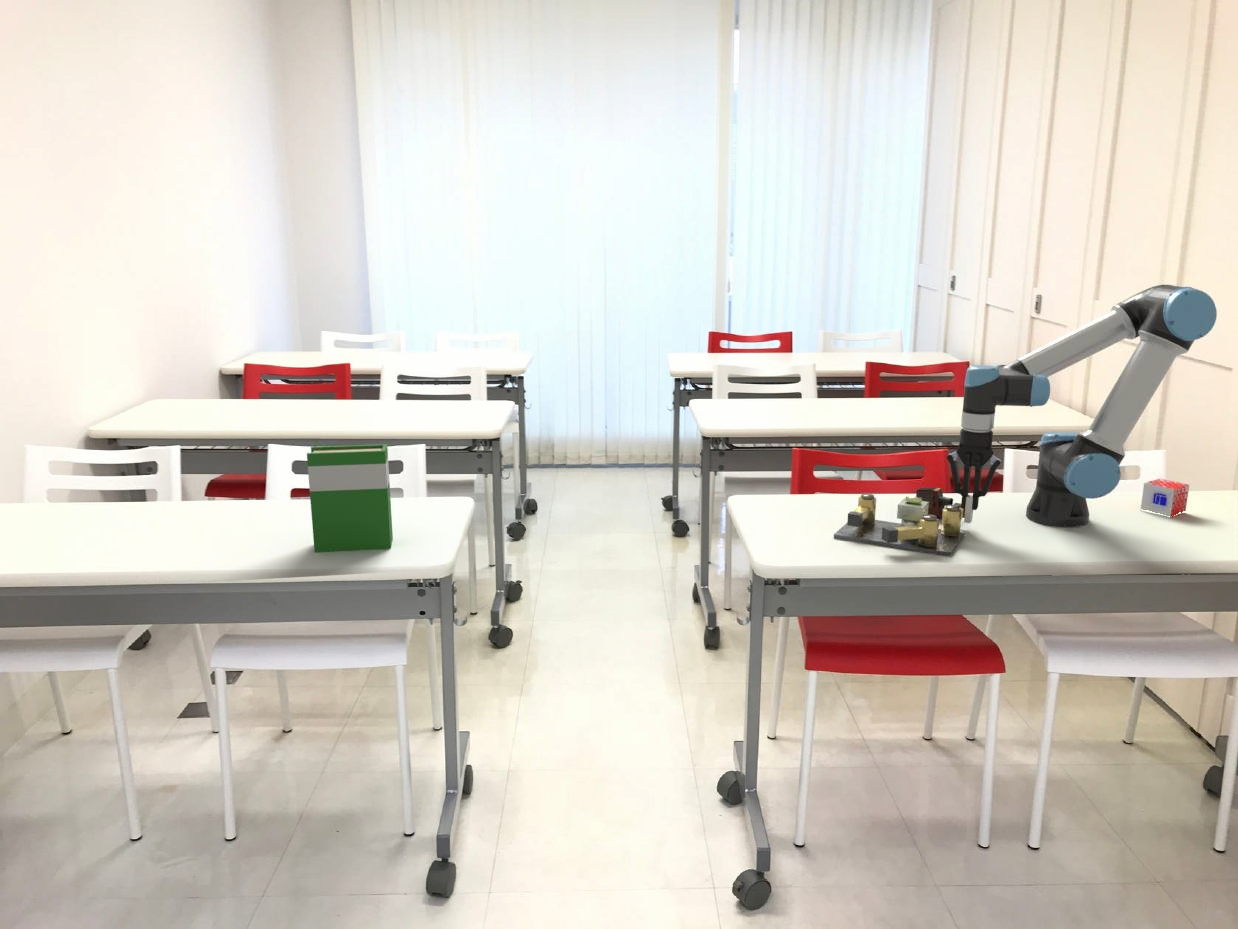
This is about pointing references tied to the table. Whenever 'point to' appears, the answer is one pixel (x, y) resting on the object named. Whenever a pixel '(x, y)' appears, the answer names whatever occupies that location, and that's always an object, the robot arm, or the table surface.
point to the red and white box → (1165, 497)
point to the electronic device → (934, 500)
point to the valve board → (910, 515)
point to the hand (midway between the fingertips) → (968, 521)
